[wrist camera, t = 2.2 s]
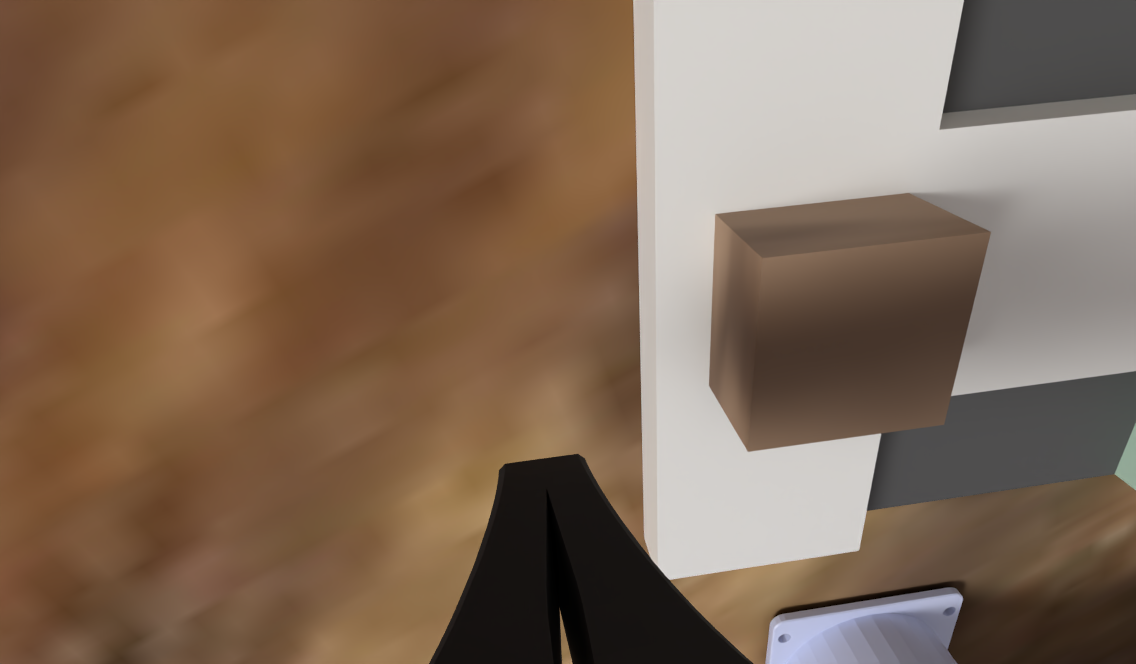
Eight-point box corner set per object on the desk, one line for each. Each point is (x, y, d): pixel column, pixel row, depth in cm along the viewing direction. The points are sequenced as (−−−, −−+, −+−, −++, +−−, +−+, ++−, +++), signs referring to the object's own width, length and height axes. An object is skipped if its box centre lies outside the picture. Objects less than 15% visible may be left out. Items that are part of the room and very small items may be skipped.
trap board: (1297, 440, 26) (1357, 474, 24) (644, 537, 24) (657, 581, 22) (1660, -207, 16) (1805, -231, 15) (630, -141, 14) (652, -159, 13)
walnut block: (878, 363, 19) (944, 424, 16) (708, 385, 19) (747, 452, 16) (908, 193, 17) (990, 231, 14) (714, 214, 16) (762, 258, 14)
